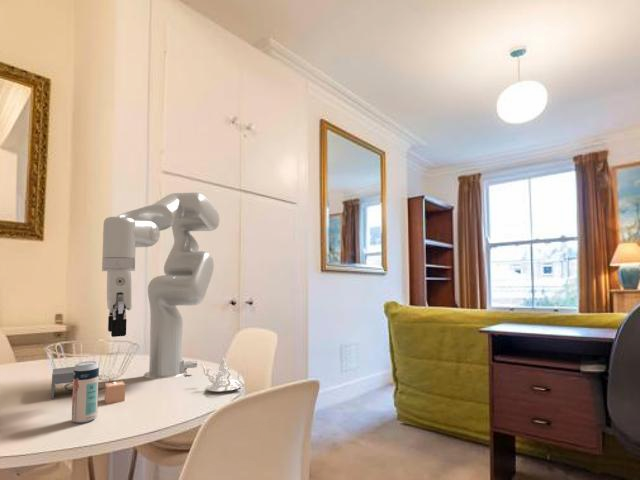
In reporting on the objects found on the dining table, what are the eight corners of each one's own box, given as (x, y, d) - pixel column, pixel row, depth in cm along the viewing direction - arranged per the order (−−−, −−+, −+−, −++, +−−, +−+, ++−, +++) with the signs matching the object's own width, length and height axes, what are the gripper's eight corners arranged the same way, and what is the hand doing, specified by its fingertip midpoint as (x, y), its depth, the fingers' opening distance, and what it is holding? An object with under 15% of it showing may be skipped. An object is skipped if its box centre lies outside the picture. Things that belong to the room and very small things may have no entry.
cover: (82, 387, 111) (83, 365, 112) (83, 394, 105) (84, 371, 106) (52, 392, 108) (53, 369, 108) (51, 399, 102) (52, 374, 102)
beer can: (78, 416, 89) (80, 361, 90) (101, 415, 90) (102, 360, 91) (66, 424, 85) (69, 366, 85) (90, 423, 85) (92, 365, 86)
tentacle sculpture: (244, 389, 109) (244, 354, 110) (198, 393, 106) (198, 357, 107) (243, 380, 118) (243, 348, 118) (200, 383, 115) (200, 350, 116)
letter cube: (122, 397, 103) (122, 380, 104) (124, 401, 100) (125, 383, 100) (104, 399, 101) (105, 382, 101) (106, 404, 98) (107, 386, 98)
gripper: (139, 265, 98) (137, 337, 96) (130, 265, 112) (128, 328, 111) (104, 265, 94) (102, 340, 92) (100, 265, 108) (97, 330, 107)
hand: (116, 333), depth 102 cm, fingers open, 9 cm apart
